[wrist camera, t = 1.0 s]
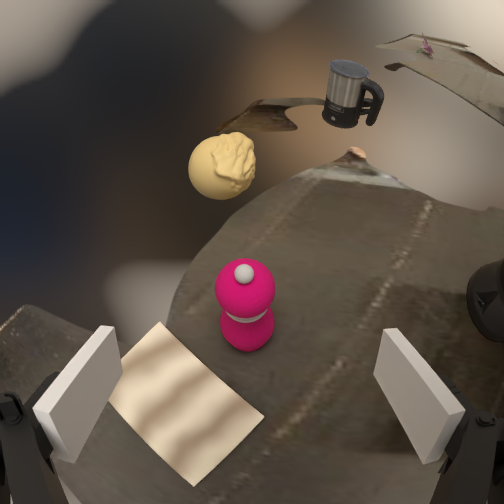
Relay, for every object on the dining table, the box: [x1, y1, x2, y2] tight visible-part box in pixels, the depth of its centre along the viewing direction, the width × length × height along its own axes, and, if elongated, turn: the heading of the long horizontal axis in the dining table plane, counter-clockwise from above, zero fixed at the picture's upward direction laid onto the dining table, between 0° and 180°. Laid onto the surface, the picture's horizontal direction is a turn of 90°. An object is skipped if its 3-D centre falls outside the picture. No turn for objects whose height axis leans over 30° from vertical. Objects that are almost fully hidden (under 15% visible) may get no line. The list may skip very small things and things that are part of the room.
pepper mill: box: [215, 258, 275, 352], centre depth 37 cm, size 7×7×20 cm
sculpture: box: [189, 132, 256, 200], centre depth 55 cm, size 11×12×11 cm
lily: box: [417, 33, 434, 59], centre depth 98 cm, size 12×12×10 cm
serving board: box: [108, 322, 264, 486], centre depth 39 cm, size 20×14×2 cm
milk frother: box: [322, 60, 384, 128], centre depth 65 cm, size 14×16×15 cm
